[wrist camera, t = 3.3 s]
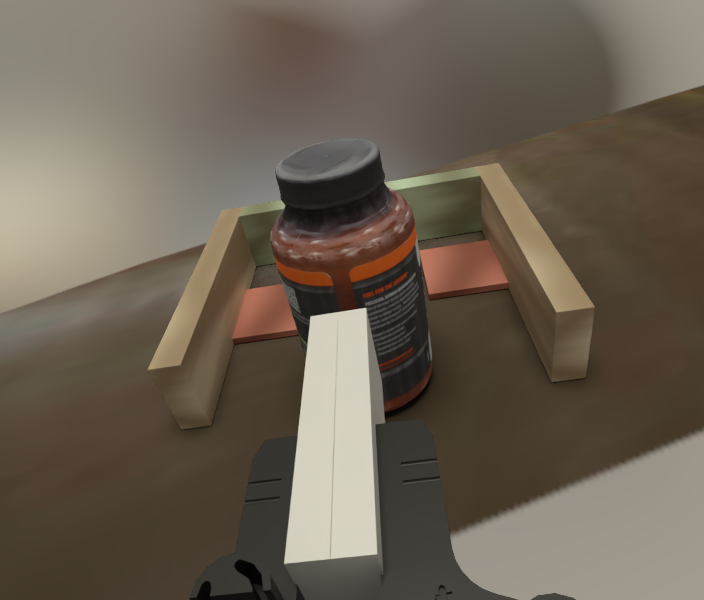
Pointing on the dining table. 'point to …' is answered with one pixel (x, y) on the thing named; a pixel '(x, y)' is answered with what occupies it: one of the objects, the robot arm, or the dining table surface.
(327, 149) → the supplement bottle
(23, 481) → the dining table surface
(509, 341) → the dining table surface
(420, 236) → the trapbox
